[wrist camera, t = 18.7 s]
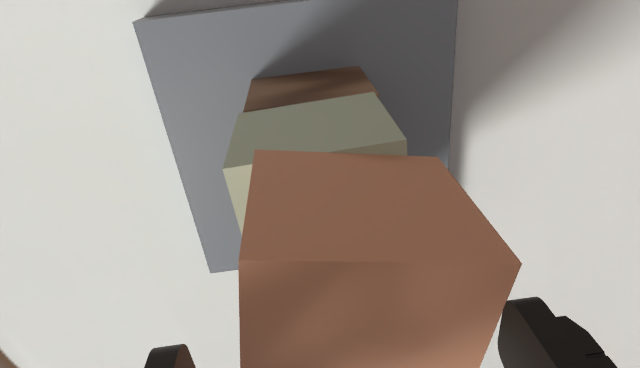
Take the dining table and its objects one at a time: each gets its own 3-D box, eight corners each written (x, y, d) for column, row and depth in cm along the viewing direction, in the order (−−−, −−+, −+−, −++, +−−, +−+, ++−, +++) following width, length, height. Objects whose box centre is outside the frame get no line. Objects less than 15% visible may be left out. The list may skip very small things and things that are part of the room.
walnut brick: (358, 65, 19) (379, 93, 15) (366, 210, 23) (384, 262, 19) (251, 79, 19) (243, 111, 15) (278, 221, 23) (277, 276, 19)
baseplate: (446, -20, 19) (458, -18, 17) (435, 227, 26) (443, 241, 24) (143, 17, 18) (132, 21, 17) (214, 257, 25) (210, 273, 24)
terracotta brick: (438, 156, 11) (521, 263, 7) (390, 352, 15) (428, 492, 11) (254, 149, 11) (238, 260, 7) (253, 354, 14) (243, 501, 11)
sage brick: (373, 91, 15) (406, 139, 11) (386, 260, 19) (413, 340, 15) (238, 113, 15) (222, 169, 11) (279, 277, 19) (278, 362, 15)
